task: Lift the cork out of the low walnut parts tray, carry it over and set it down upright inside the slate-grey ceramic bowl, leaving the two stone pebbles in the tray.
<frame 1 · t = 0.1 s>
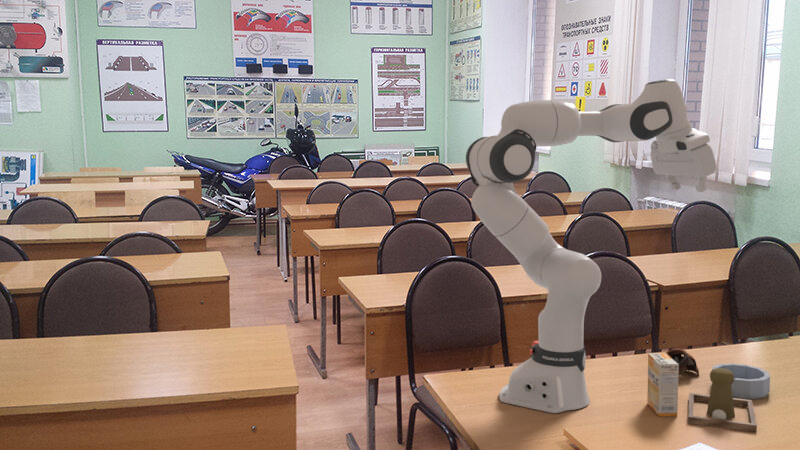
hand: (688, 190, 175), 52 cm above the table, tool tilted 20°, fingers open, 8 cm apart
cork: (720, 415, 160), resting in tray
bowl: (740, 389, 175), on the table
pebble a: (720, 406, 164), resting in tray
pebble b: (718, 422, 156), resting in tray
supplement box: (661, 410, 163), on the table
tray: (720, 414, 160), on the table
pottery mug: (679, 374, 188), on the table
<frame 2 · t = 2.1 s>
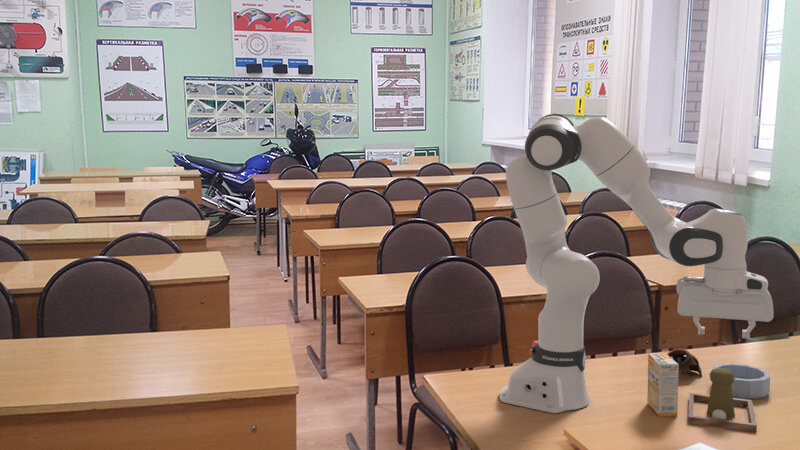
hand: (723, 336, 158), 19 cm above the table, tool pointing down, fingers open, 8 cm apart
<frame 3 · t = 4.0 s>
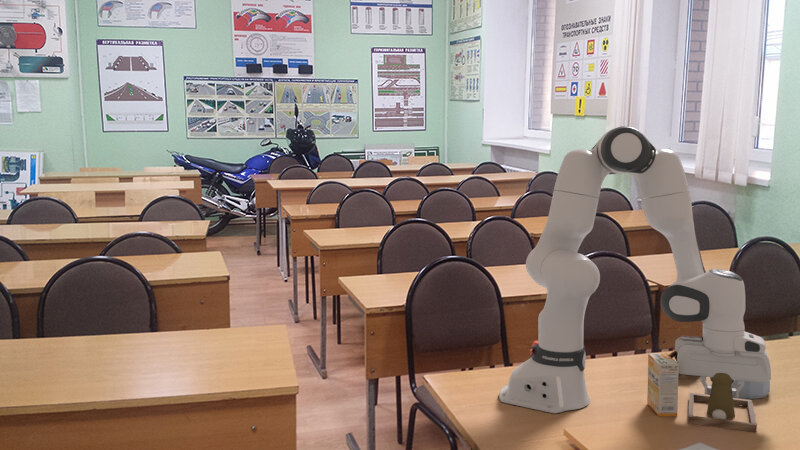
hand: (721, 395, 159), 5 cm above the table, tool pointing down, fingers closed on cork, 4 cm apart
cork: (720, 415, 160), resting in tray, touching gripper
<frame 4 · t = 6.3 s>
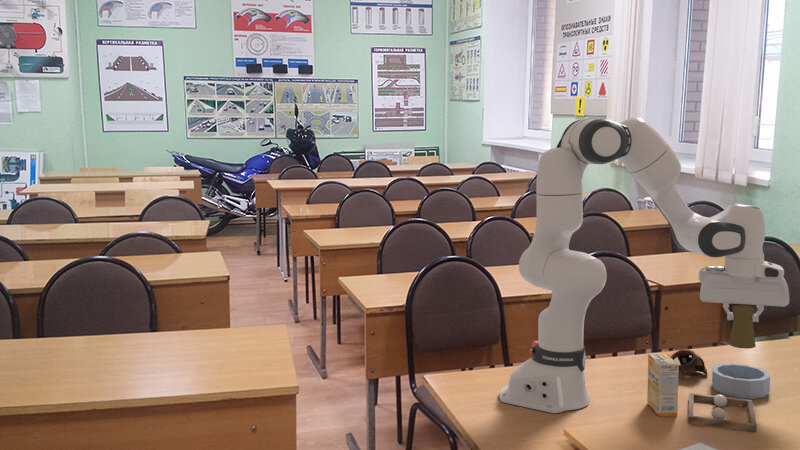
hand: (742, 320, 171), 19 cm above the table, tool pointing down, fingers closed on cork, 4 cm apart
cork: (742, 345, 172), point 12 cm above the table, touching gripper
pebble b: (718, 420, 156), resting in tray, tilted 37°
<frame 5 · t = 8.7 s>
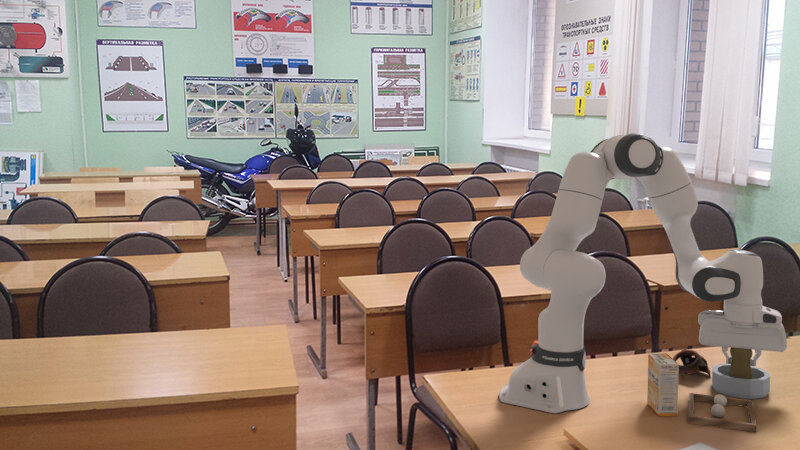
hand: (740, 364, 174), 7 cm above the table, tool pointing down, fingers closed on cork, 4 cm apart
cork: (740, 387, 175), point 1 cm above the table, touching bowl, gripper
pebble b: (718, 409, 157), point 2 cm above the table, tilted 123°
when the fingers open (7 cm above the table, at t = 9.0 s): cork stays where it is, resting on bowl.
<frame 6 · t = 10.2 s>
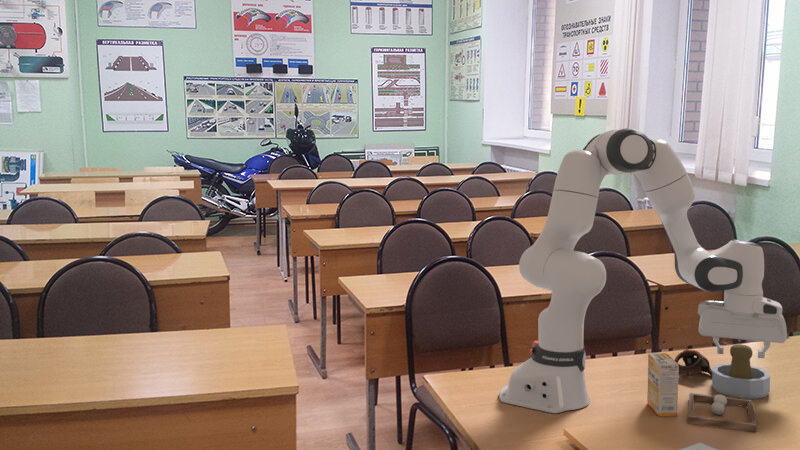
hand: (740, 355, 174), 9 cm above the table, tool pointing down, fingers open, 8 cm apart
cork: (740, 387, 175), point 1 cm above the table, touching bowl
pebble b: (718, 402, 159), point 3 cm above the table, tilted 177°
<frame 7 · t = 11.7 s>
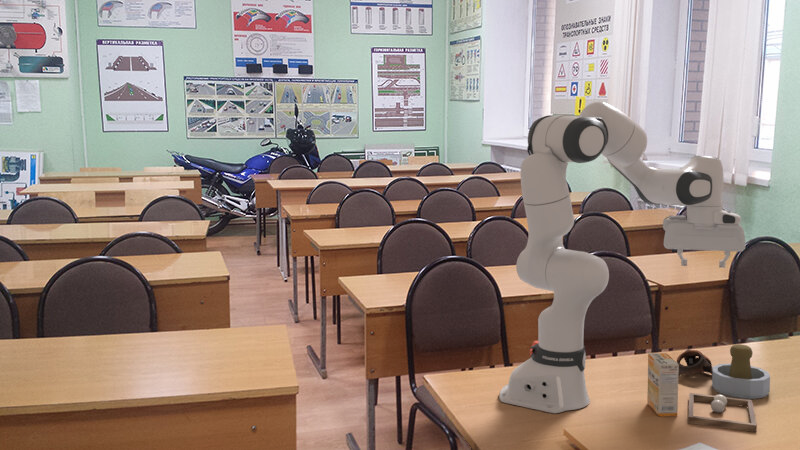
hand: (702, 266, 183), 31 cm above the table, tool pointing down, fingers open, 8 cm apart
pebble b: (717, 400, 162), point 2 cm above the table, tilted 129°
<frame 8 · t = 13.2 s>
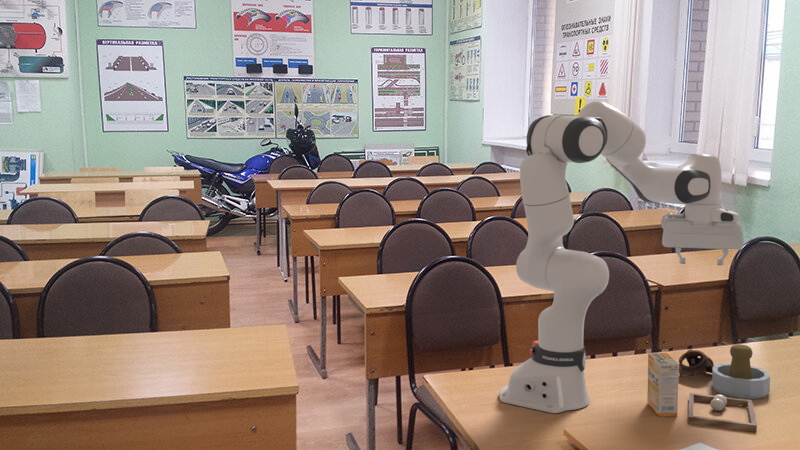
hand: (701, 264, 184), 31 cm above the table, tool pointing down, fingers open, 8 cm apart
pebble b: (717, 402, 163), point 1 cm above the table, tilted 89°
at the end: cork inside the target area on the bowl (0.1 cm from its centre), point 0.6 cm above the bowl's base; cork tilted 0°; the gripper is holding nothing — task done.
